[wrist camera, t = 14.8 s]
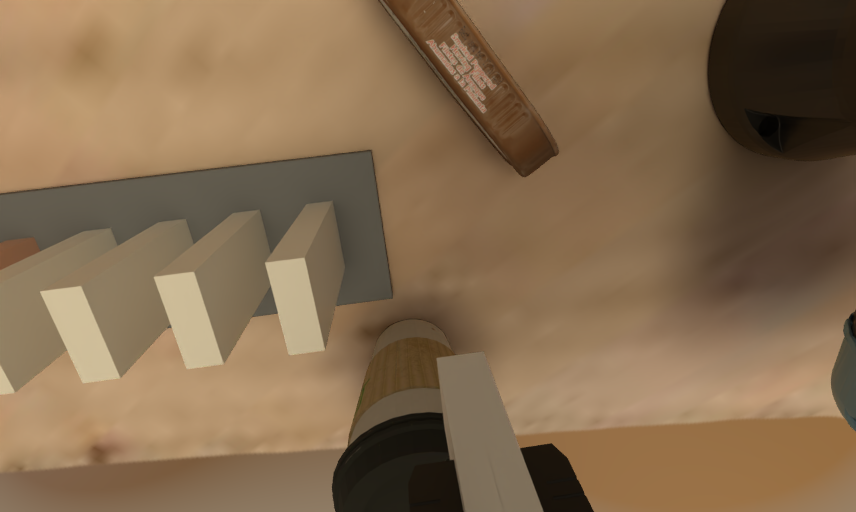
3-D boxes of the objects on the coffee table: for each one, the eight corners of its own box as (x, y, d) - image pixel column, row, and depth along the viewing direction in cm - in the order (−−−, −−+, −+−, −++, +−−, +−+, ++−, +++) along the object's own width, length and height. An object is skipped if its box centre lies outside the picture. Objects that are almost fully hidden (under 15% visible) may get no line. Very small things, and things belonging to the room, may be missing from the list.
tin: (536, 141, 31) (586, 159, 23) (501, 171, 32) (539, 198, 24) (392, -54, 26) (394, -114, 18) (353, -15, 27) (340, -57, 19)
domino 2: (185, 218, 30) (80, 285, 20) (206, 285, 32) (120, 378, 22) (158, 222, 30) (39, 291, 20) (181, 288, 32) (82, 383, 22)
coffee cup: (332, 379, 37) (298, 558, 23) (381, 279, 34) (376, 413, 20) (438, 415, 39) (466, 600, 25) (492, 325, 36) (558, 474, 22)
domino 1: (110, 227, 30) (-35, 300, 20) (135, 294, 32) (15, 392, 21) (83, 231, 30) (-77, 306, 20) (110, 297, 32) (-24, 397, 21)
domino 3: (259, 209, 30) (193, 271, 20) (276, 276, 32) (223, 364, 22) (233, 212, 30) (153, 276, 20) (251, 279, 32) (186, 369, 22)
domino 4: (332, 200, 30) (304, 257, 20) (345, 267, 32) (325, 350, 22) (306, 203, 30) (265, 262, 20) (320, 270, 32) (288, 355, 22)
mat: (371, 149, 30) (370, 151, 30) (392, 293, 34) (392, 298, 33) (-21, 196, 29) (-32, 198, 28) (48, 339, 33) (40, 345, 32)
